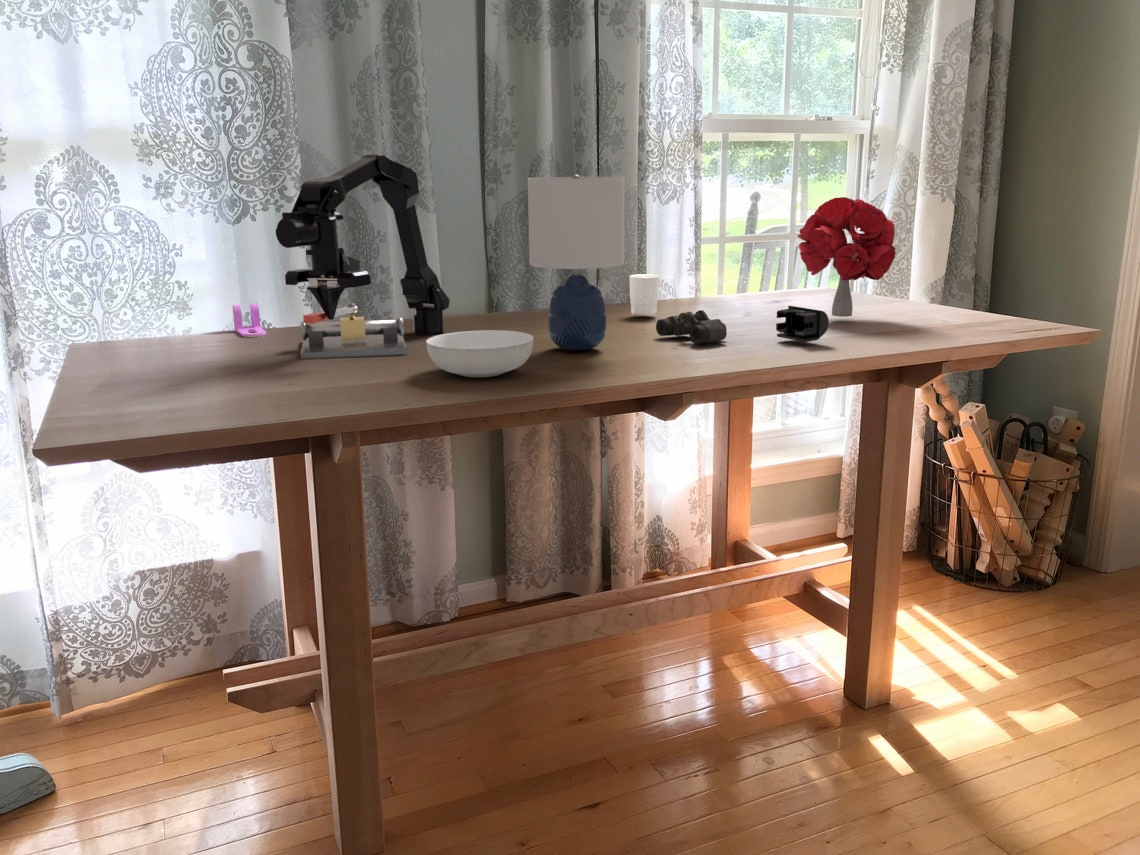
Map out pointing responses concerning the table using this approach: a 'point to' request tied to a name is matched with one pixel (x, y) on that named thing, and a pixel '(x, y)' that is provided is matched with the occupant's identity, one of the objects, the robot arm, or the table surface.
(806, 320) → the end cap
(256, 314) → the bracket
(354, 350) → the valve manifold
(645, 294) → the white cup
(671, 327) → the binoculars
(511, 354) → the serving bowl
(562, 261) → the lamp
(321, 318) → the lever
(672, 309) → the table surface
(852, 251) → the bouquet
